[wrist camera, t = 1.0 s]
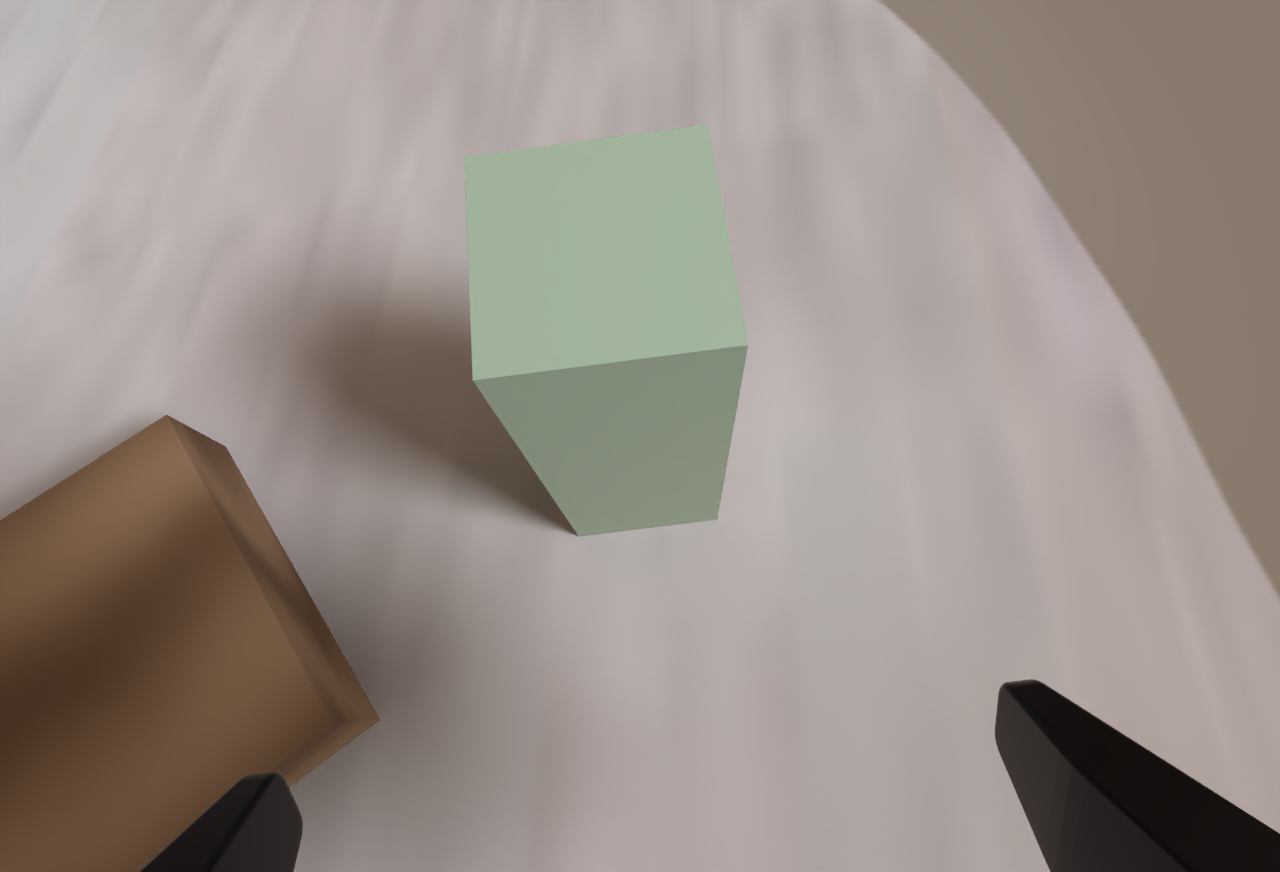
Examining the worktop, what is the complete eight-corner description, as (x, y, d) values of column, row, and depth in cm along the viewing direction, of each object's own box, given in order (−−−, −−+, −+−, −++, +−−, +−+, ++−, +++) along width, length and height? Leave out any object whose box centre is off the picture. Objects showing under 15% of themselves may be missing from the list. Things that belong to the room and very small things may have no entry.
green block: (716, 519, 24) (747, 344, 12) (578, 536, 24) (472, 379, 12) (697, 391, 25) (708, 124, 13) (567, 407, 25) (463, 157, 13)
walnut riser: (385, 719, 23) (333, 723, 19) (55, 964, 21) (-64, 1015, 18) (232, 450, 26) (166, 414, 23) (-63, 643, 24) (-181, 635, 21)
